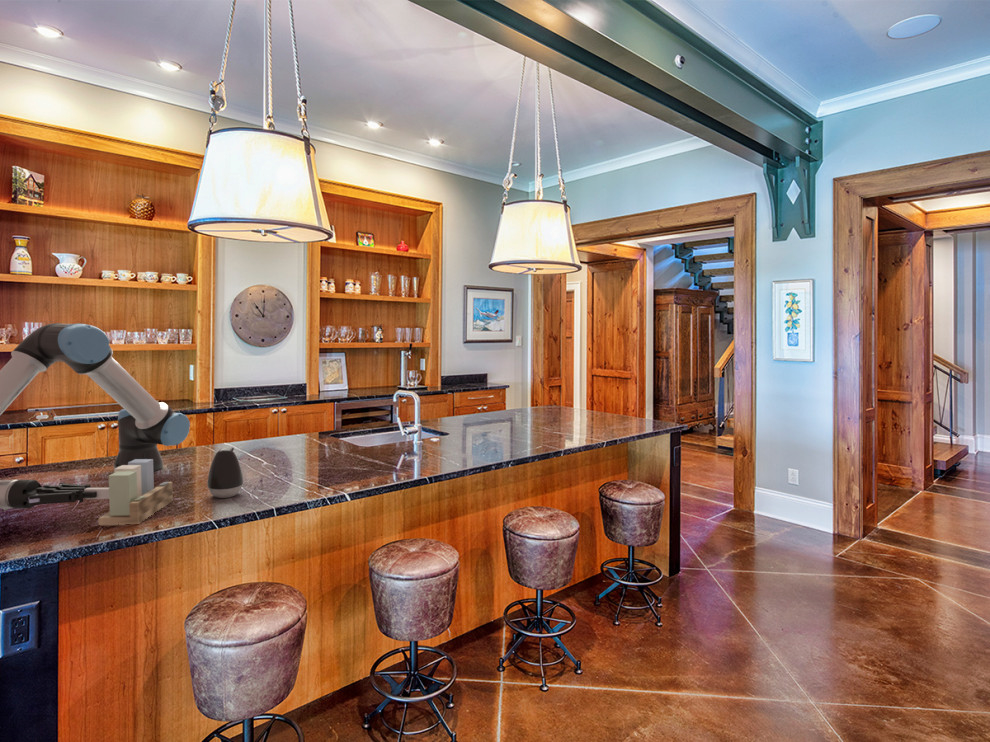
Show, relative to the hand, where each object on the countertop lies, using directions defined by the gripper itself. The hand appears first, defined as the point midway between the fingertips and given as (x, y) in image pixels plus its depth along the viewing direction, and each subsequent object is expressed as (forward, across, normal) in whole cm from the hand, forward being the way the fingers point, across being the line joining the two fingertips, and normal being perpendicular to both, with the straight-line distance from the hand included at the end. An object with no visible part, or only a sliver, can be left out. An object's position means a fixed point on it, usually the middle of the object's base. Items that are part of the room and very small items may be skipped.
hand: (111, 493), depth 148 cm
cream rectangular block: (0, -7, -6) cm, 9 cm away
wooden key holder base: (+3, -7, -8) cm, 11 cm away
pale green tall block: (+3, 0, -6) cm, 6 cm away
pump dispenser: (+21, -22, -8) cm, 32 cm away
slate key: (0, -14, -6) cm, 15 cm away
